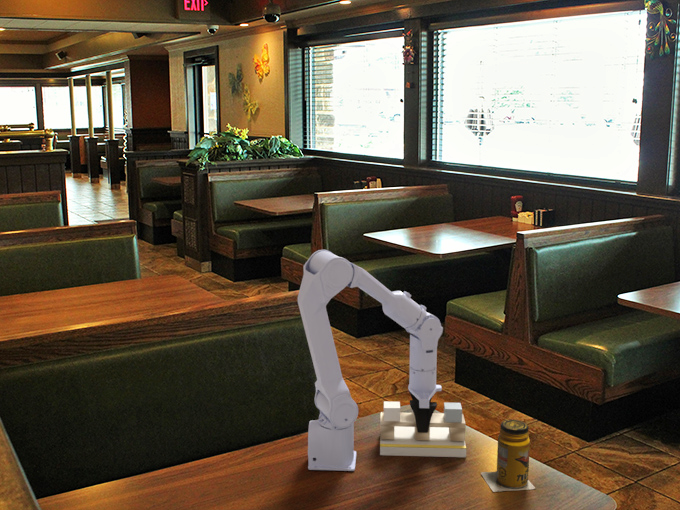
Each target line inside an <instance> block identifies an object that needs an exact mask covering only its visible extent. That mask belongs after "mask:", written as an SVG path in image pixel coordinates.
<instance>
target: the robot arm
mask: <svg viewBox="0 0 680 510" xmlns="http://www.w3.org/2000/svg"><path fill="white" fill-rule="evenodd" d="M300 283H301V284H300V287H299V291H298V294H297V305H298V308H299V312H300V316H301V321H302V324H303V328H304V333H305V337H306V340H307V343H308V344H307V345H308V348H309V352H310V355H311V360H312V363H313V368H314V372H315V375H316V381H315V382H314V386H315V394H314V404H315V407H316V408H317V409H318V410H319V415H318V419H315V420H313V419H312V420H310V421H309V423H308V431H307V435H308V436H307V457H308V459H307V460H308V462H307V463H308V465H307V469H308V470H309V471H338V472H339V471H342V472H343V471H344V472H347V471H348V472H354V471H355V470H356V463H357V461H356V460H357V451H356V450H354V449H355V447H354V446H355V443H354V442H355V440H354V439H355V438H354V437H355V433H354V431H355V428H354V427H355V425H354V424H355V422H356V420H357V419H358V416H359V406H358V404H357V403H356V401H355V400H354V399H353V398H352V395H351V392H350V389H349V387H348V385H347V384H346V381H345V380H344V378H343V374H342V370H341V364H340V361H339V357H338V352H337V349H336V345H335V341H334V336H333V333H332V327H331V324H330V320H329V316H328V311H327V305H328V304H329V302H330V301H331V299H333V298H334V297H335V296H337V294H339V293H340V292H342V291H343V290H344V289H345V288H346V287H348V288H351V289H353V288H359V289H360V290H361V291H363V292H365V293H366V294H367V295H369V296H370V297H372V298H373V299H375V300H376V301H378V302H379V303H380V304H381V306H382V311H383V313H384V315H385V316H387V317H388V318H389V319H391V320H393V321H394V322H396V324H398V325H399V326H401V327H402V328H404V329H405V331H406V332H407V333H409V377H408V378H409V379H408V381H409V382H408V383H409V384H408V386H407V388H408V393H409V395H410V398H411V399H410V400H409V405H410V409H411V410H412V413H414V415H415V420H416V427H417V431H418V433H427V432H428V430H429V425H430V421H431V417H432V414H433V413H435V411H436V410H437V406H438V404H437V403H438V402H437V401H432V399H433V397H434V395H435V394H436V393H437V392H442V391H443V389H442V388H443V387H442V385H441V384H437V369H438V368H437V361H438V360H437V358H438V357H437V355H438V342H439V339H440V338H441V336H442V335H443V331H444V327H443V326H442V323H441V321H440V319H439V318H438V317H437V316H436V315H434V314H432V313H430V312H427V307H426V306H425V305H423V304H418V303H417V302H416V301H414V300H413V299H412V298H411V297H412V294H410V292H407V291H405V290H404V291H403V292H402V291H401V290H394V291H391V290H390V289H389V288H387V287H386V286H385V285H384V284H383V283H381V282H380V281H379V280H378V279H376V278H375V277H374V276H373V275H372V274H370V273H369V272H368V271H367V270H366V269H364V268H363V267H360V266H358V265H357V264H355V263H353V262H350V261H349V260H348V259H347V258H344V257H342V256H338V255H336V254H334V253H333V252H332V251H330V250H327V249H318V250H316V251H315V252H313V253H312V254H311V255H310V256H309V258H308V259H307V261H305V263H304V264H303V275H302V279H301V282H300Z"/></svg>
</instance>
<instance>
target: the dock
mask: <svg viewBox="0 0 680 510" xmlns="http://www.w3.org/2000/svg"><path fill="white" fill-rule="evenodd" d="M379 455H380V456H394V457H395V456H399V457H400V456H401V457H402V456H403V457H440V458H441V457H443V458H444V457H446V458H467V446H466V440H465V441H451V439H450V434H449V428H446V427H430V440H415V427H399V426H394V439H380V438H379Z"/></svg>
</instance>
